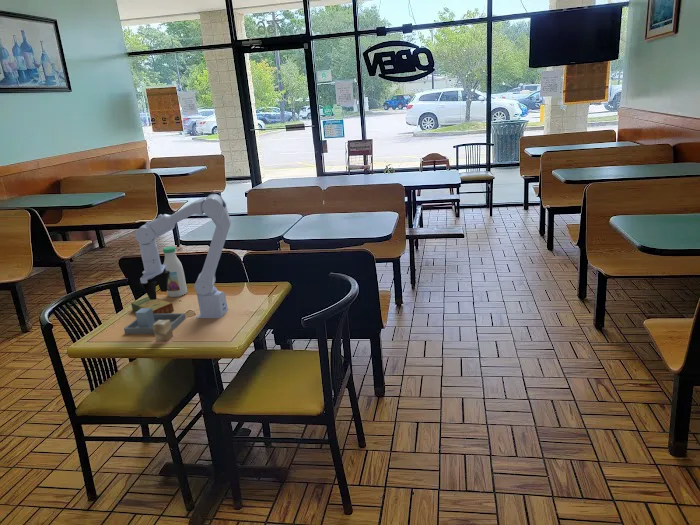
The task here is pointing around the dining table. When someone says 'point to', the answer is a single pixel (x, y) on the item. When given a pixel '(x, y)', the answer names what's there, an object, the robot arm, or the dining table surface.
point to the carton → (153, 305)
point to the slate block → (145, 318)
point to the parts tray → (173, 317)
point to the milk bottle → (174, 273)
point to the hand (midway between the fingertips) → (158, 295)
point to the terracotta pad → (167, 341)
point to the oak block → (162, 330)
